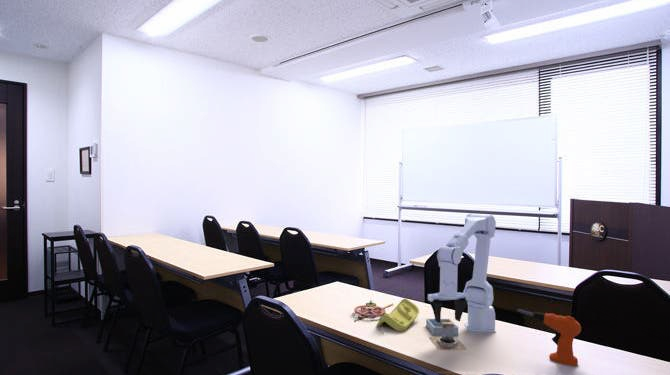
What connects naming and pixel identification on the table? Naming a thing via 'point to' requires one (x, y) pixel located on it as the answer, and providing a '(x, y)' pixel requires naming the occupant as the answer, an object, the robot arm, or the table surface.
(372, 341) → the table surface
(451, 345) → the socket plate
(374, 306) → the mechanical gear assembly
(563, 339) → the toy drill
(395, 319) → the plastic component
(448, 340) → the cylinder with rectangular bar
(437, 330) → the bin
